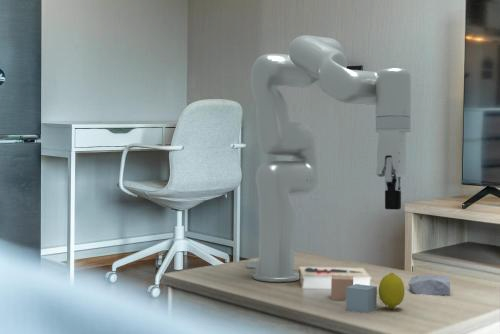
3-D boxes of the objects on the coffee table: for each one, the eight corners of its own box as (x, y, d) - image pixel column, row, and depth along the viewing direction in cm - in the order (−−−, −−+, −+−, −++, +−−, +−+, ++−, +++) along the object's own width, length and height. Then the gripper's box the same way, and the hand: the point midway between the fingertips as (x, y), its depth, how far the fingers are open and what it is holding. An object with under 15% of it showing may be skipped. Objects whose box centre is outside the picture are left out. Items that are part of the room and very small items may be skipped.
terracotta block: (331, 300, 171) (331, 278, 171) (331, 296, 176) (331, 275, 176) (352, 301, 170) (353, 279, 170) (352, 296, 175) (352, 275, 175)
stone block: (411, 302, 178) (453, 296, 177) (408, 282, 179) (449, 276, 177) (410, 294, 190) (450, 288, 188) (407, 276, 190) (446, 270, 188)
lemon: (388, 312, 158) (388, 275, 158) (373, 307, 163) (374, 271, 163) (409, 310, 160) (409, 273, 160) (394, 305, 165) (395, 269, 165)
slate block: (346, 310, 160) (346, 287, 160) (355, 306, 165) (355, 284, 165) (367, 313, 158) (367, 290, 158) (376, 309, 162) (376, 286, 162)
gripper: (382, 127, 170) (382, 206, 170) (368, 124, 156) (368, 210, 156) (415, 126, 167) (415, 207, 167) (404, 123, 153) (404, 211, 153)
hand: (392, 208), depth 162 cm, fingers closed
